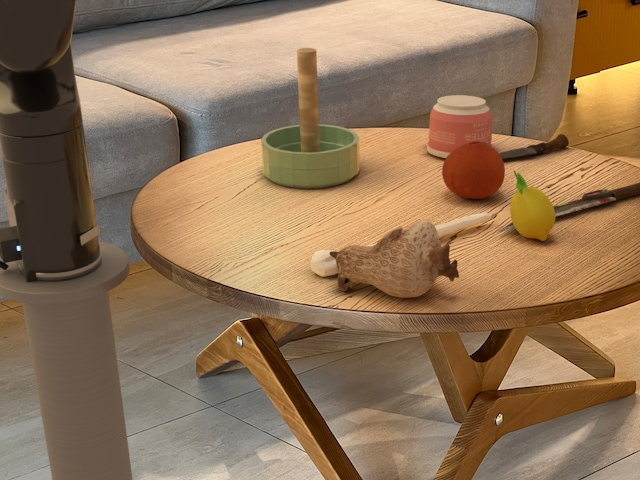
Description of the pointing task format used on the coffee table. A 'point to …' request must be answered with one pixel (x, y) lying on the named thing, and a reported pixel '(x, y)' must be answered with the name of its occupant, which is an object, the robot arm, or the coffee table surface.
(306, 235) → the coffee table surface
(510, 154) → the knife
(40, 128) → the robot arm
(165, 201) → the coffee table surface
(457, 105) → the container
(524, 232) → the lemon
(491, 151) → the fruit
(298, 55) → the stick
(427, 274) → the figurine
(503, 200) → the coffee table surface
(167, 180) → the coffee table surface
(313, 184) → the bowl
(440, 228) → the cream knobbed rod
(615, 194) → the knife
